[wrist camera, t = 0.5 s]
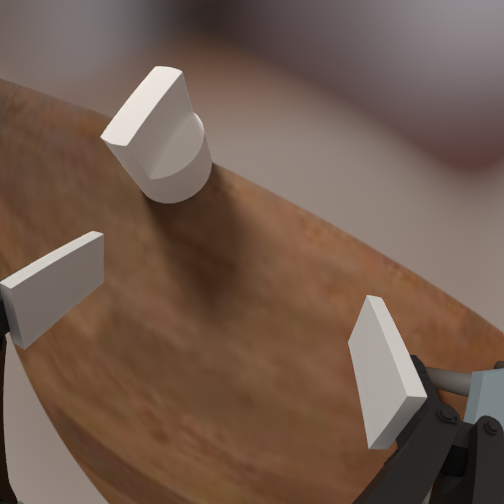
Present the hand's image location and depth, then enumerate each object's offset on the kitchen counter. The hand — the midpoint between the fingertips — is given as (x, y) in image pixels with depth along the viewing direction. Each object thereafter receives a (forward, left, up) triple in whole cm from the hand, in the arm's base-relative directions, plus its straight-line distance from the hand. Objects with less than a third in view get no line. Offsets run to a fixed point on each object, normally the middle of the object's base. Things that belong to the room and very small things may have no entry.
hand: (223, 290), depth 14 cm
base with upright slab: (+15, +10, -17) cm, 24 cm away
